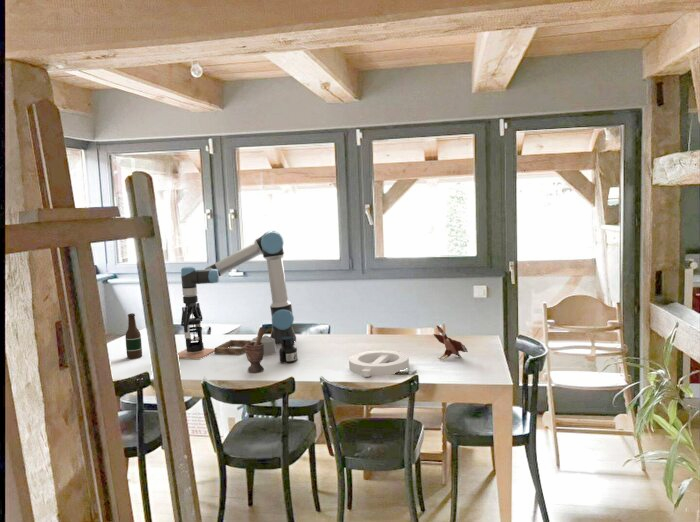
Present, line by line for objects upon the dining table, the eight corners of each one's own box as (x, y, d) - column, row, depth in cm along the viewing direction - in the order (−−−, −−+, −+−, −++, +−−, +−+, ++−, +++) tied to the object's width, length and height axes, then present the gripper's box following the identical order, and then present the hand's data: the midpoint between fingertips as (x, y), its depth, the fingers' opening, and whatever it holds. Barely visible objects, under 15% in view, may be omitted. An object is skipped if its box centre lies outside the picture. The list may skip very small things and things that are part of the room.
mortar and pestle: (252, 366, 278) (250, 326, 277) (269, 366, 277) (267, 326, 275) (244, 373, 267) (241, 331, 265) (261, 373, 266) (259, 331, 264)
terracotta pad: (217, 350, 314) (217, 348, 314) (200, 359, 297) (200, 357, 297) (188, 349, 319) (188, 348, 319) (170, 358, 301) (170, 356, 301)
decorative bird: (413, 348, 284) (422, 320, 285) (443, 357, 291) (451, 330, 292) (443, 362, 258) (453, 330, 258) (474, 371, 264) (484, 341, 265)
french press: (194, 347, 315) (190, 306, 313) (208, 347, 312) (205, 306, 309) (180, 352, 304) (177, 310, 302) (195, 353, 301) (191, 310, 299)
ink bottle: (290, 364, 278) (288, 340, 277) (275, 363, 283) (274, 339, 282) (301, 359, 287) (300, 336, 286) (287, 358, 291) (285, 335, 290)
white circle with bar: (364, 380, 249) (363, 369, 249) (340, 365, 275) (340, 355, 274) (419, 370, 260) (419, 360, 259) (392, 356, 285) (391, 347, 285)
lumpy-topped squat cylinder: (257, 349, 311) (256, 334, 311) (279, 350, 307) (278, 335, 306) (248, 354, 302) (247, 338, 301) (270, 355, 297) (269, 339, 297)
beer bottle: (145, 355, 310) (141, 312, 307) (135, 359, 302) (132, 315, 300) (133, 355, 312) (130, 312, 310) (124, 359, 305) (120, 315, 303)
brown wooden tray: (256, 345, 321) (256, 340, 321) (241, 354, 303) (241, 348, 303) (231, 345, 325) (230, 339, 325) (214, 353, 307) (214, 348, 307)
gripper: (195, 292, 317) (198, 330, 319) (171, 299, 294) (175, 340, 297) (207, 292, 315) (210, 330, 317) (184, 299, 292) (187, 340, 295)
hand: (193, 335), depth 307 cm, fingers closed on french press, 11 cm apart
